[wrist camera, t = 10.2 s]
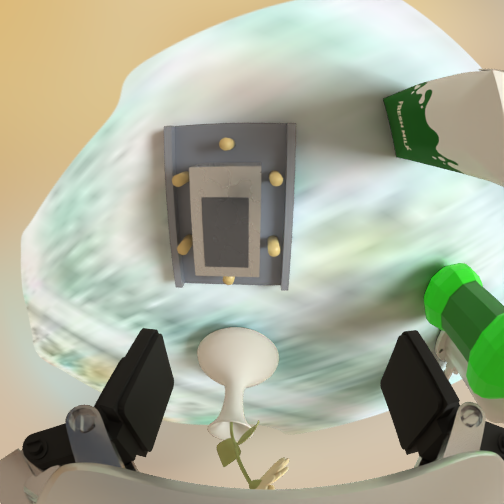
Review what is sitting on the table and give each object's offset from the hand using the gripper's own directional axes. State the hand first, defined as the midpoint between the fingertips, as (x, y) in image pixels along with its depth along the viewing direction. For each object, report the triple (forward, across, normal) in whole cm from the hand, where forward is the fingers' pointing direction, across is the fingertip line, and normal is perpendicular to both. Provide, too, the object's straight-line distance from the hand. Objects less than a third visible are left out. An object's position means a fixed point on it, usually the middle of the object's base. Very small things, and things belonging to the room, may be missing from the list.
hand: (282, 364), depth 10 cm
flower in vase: (+22, +4, +19) cm, 29 cm away
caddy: (+22, +5, -1) cm, 22 cm away
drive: (+20, +4, -1) cm, 21 cm away
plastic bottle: (+22, -25, +9) cm, 35 cm away
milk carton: (+22, -16, -12) cm, 30 cm away
